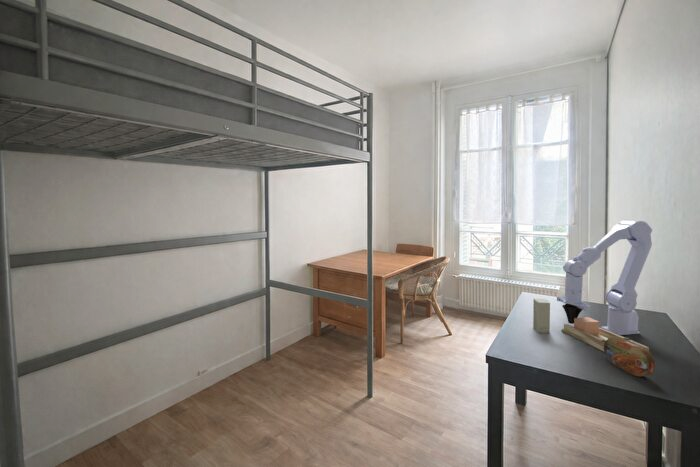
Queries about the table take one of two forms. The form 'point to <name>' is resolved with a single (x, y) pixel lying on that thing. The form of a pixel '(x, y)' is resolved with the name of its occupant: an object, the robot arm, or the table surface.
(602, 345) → the chute
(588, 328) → the block
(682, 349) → the table surface
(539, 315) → the skincare box
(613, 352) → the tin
